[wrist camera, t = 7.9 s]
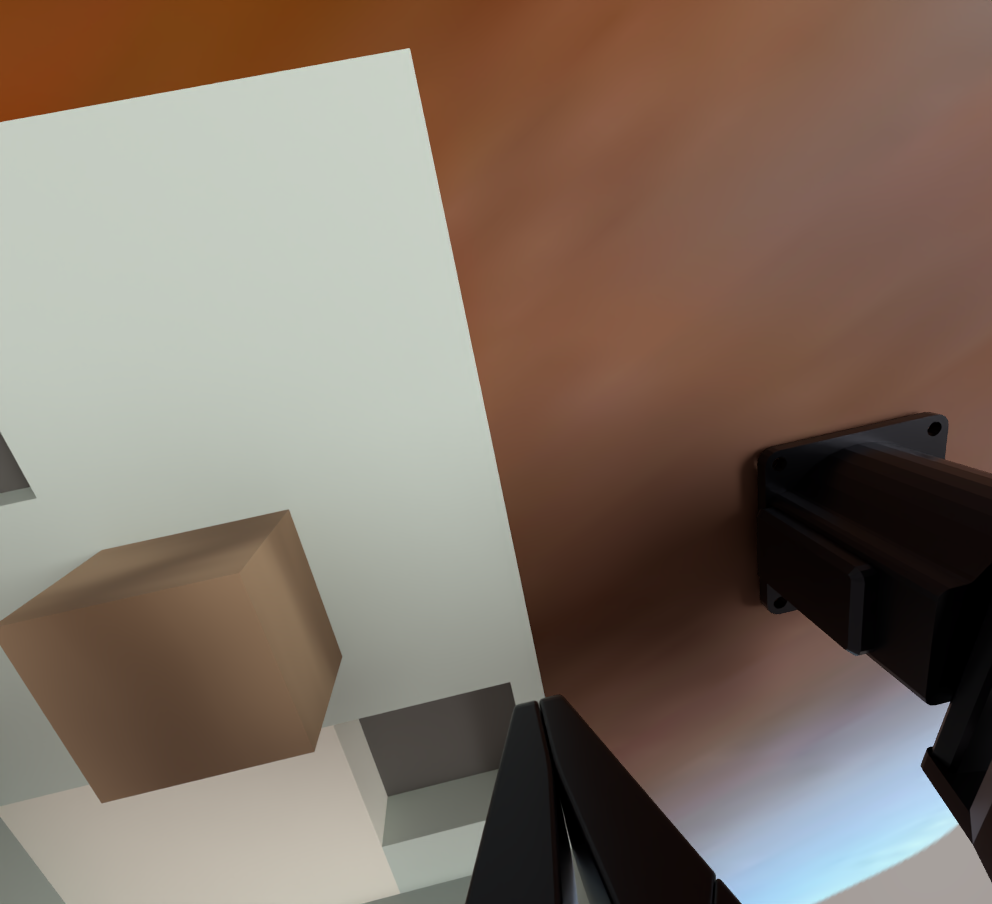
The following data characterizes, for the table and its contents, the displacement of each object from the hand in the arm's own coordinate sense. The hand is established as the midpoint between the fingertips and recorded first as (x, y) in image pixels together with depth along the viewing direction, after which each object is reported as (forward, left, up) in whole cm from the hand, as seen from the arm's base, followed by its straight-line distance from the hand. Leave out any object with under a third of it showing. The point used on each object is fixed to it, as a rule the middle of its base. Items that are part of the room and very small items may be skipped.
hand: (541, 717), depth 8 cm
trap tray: (+9, +1, -8) cm, 12 cm away
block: (+8, 0, -6) cm, 10 cm away
